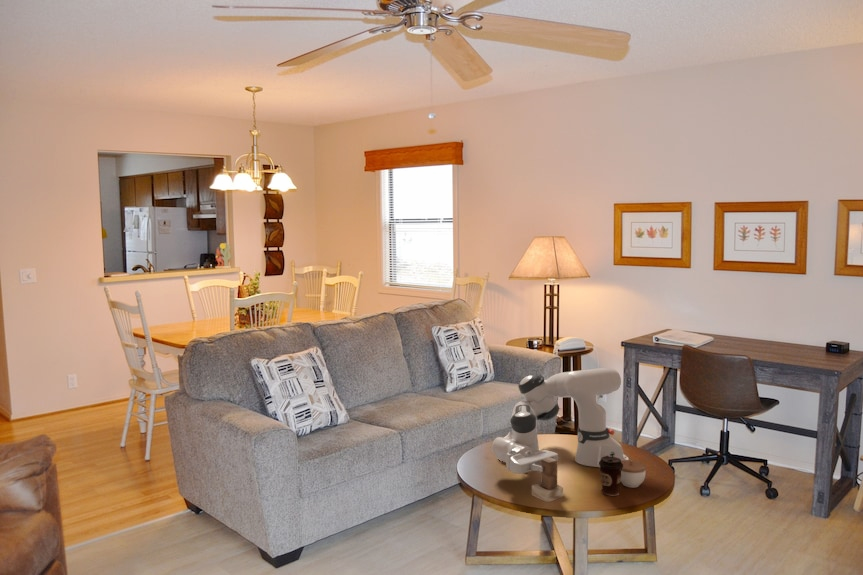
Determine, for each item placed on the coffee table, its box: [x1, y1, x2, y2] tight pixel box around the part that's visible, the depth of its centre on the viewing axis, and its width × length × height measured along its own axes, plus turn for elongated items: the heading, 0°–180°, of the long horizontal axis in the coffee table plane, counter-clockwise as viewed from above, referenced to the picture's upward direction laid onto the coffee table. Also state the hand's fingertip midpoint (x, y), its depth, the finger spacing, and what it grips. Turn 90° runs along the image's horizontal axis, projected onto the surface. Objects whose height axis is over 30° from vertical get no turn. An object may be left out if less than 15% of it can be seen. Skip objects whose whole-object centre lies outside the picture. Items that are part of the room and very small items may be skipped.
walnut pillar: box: [540, 457, 558, 489], centre depth 249 cm, size 4×4×10 cm
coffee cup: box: [599, 456, 623, 497], centre depth 252 cm, size 9×8×13 cm
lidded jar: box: [620, 459, 647, 489], centre depth 260 cm, size 11×11×9 cm
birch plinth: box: [531, 481, 564, 503], centre depth 251 cm, size 8×8×4 cm
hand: (548, 467), depth 249 cm, fingers open, 4 cm apart
